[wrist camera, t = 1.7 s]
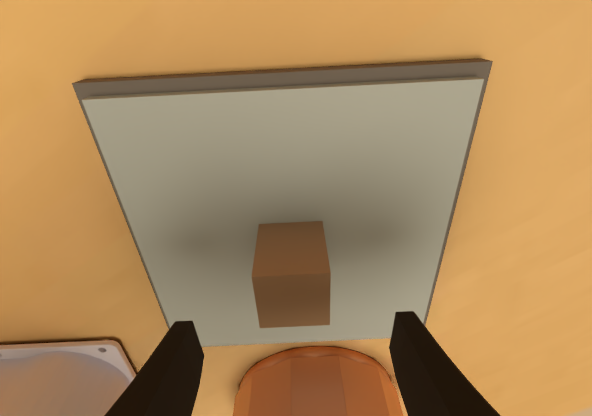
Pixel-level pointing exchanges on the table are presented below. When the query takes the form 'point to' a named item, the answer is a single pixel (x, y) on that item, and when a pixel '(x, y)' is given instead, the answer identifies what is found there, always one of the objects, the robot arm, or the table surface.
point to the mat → (288, 79)
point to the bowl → (317, 385)
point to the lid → (290, 201)
